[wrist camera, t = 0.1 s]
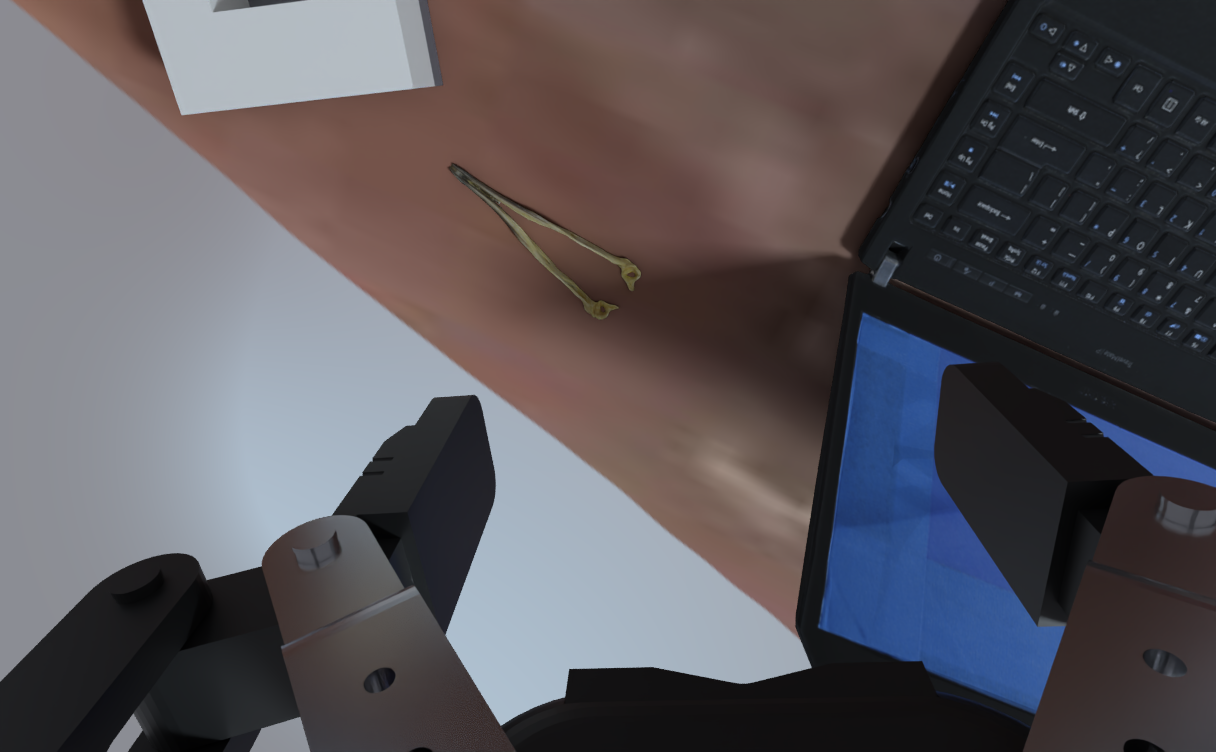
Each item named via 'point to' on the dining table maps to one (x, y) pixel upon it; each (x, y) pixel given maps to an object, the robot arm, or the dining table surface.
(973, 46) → the dining table surface
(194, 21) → the box
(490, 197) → the tan bony v-shaped piece
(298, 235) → the dining table surface
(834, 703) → the robot arm
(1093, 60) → the laptop
